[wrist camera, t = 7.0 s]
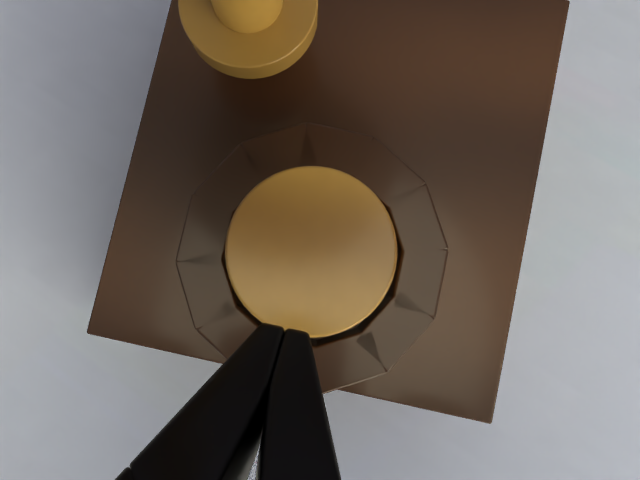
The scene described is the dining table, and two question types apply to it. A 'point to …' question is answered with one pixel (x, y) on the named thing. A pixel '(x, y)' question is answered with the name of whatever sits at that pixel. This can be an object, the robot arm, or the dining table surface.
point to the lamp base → (365, 165)
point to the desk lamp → (249, 33)
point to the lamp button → (311, 250)
